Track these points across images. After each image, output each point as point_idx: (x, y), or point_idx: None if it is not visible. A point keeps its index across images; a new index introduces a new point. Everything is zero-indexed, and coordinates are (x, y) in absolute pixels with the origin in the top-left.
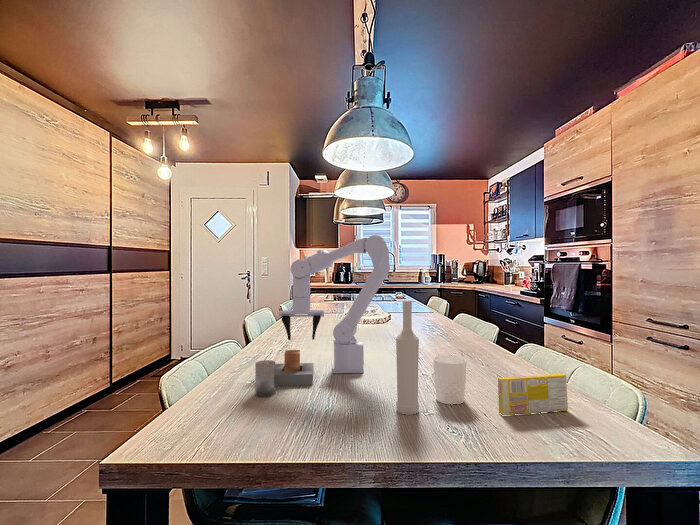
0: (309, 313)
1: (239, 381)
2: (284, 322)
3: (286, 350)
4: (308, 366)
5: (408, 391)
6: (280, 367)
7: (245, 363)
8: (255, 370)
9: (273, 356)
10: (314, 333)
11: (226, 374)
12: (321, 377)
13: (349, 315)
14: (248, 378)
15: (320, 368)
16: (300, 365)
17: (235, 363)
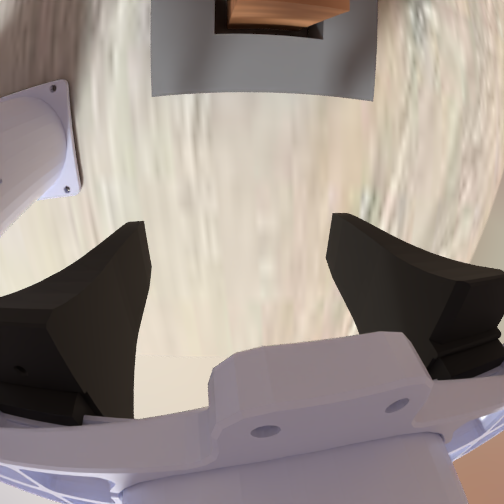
0: (95, 429)
1: (457, 32)
2: (473, 268)
3: (343, 2)
4: (178, 21)
5: None
6: (338, 22)
7: (438, 253)
8: None
9: (343, 334)
10: (108, 239)
11: (492, 129)
12: (120, 22)
13: None
14: (437, 56)
15: (133, 166)
16: (227, 43)
17: (460, 253)
